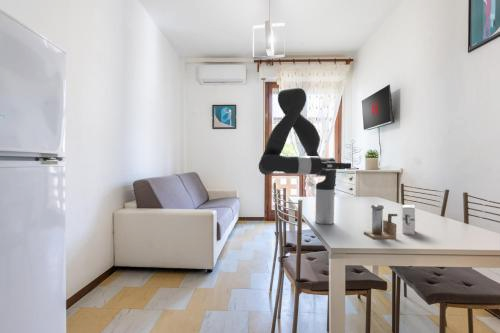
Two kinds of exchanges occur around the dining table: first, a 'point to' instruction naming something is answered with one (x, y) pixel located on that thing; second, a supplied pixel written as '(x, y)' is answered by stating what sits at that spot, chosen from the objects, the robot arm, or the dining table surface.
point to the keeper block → (385, 230)
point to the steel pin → (377, 219)
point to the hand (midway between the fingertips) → (346, 165)
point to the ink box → (408, 219)
